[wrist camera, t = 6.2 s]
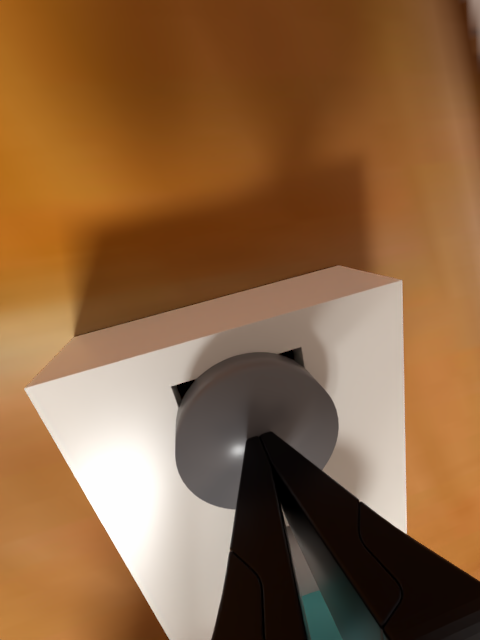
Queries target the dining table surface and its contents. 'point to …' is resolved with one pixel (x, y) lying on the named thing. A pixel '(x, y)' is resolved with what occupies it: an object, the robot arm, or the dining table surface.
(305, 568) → the middle knob
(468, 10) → the dining table surface
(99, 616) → the dining table surface
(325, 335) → the knob mount
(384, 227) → the dining table surface
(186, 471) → the knob
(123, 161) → the dining table surface
